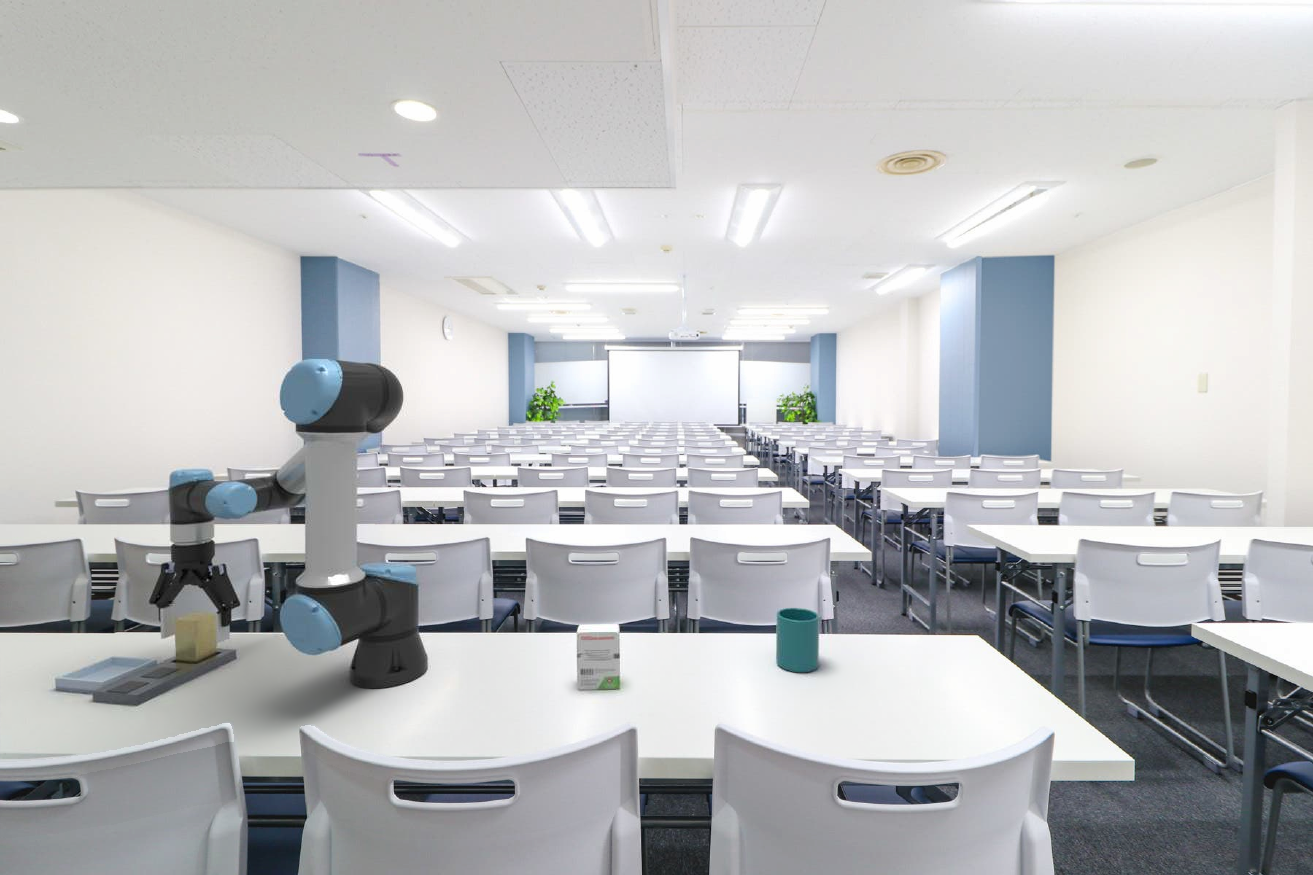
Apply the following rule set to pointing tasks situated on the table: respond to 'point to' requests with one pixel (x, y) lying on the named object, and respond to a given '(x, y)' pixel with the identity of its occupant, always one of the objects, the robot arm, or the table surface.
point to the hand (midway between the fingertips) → (195, 638)
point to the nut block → (195, 637)
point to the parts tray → (101, 674)
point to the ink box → (598, 657)
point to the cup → (797, 639)
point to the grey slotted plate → (158, 679)
